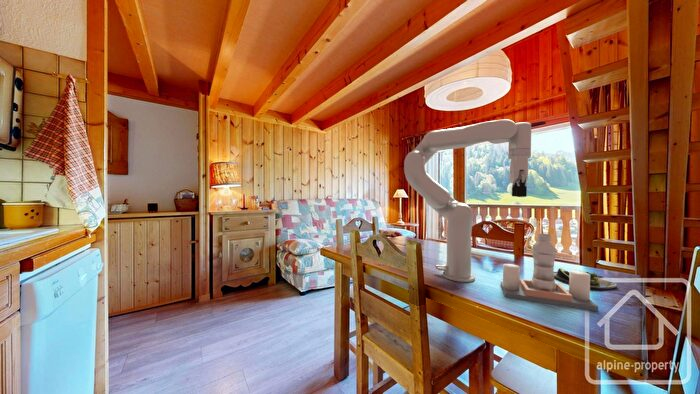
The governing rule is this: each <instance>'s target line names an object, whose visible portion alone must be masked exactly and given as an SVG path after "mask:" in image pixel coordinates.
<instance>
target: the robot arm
mask: <svg viewBox="0 0 700 394" xmlns="http://www.w3.org/2000/svg"><path fill="white" fill-rule="evenodd" d="M484 142H489V144H490V143H491V144H496V145H498V144H503V143H505V144H506V143H508V153H507V154H508V159H509V160H510V163H509V165H510V166H509V181H508V182H509V183H512V186H511V197H516V198H517V197H518V198H526V197H527V190H528V189H527V182H528V179H529V178H528V177H529V161H528V160H529V158H531V157H532V124H531V123H530V122H526V121H525V122H523V121H522V122H516V123H515V122H514V121H513V120H511V119H498V120H490V121H484V122H479V123H475V124H470V125H465V126H460V127H459V126H458V127H453V128H452V127H451V128H447V129H446V128H445V129H443V128H442V129H438V130H432V131H429V132H427V133H426V134H425V135H424V137H423V138H422V139H421V141H420V142H419V143H418V145H417V146H416V147H415V148H414V149H413V150H412V151H410V152H409V153H407V154H406V156H405V158H404V162H403V163H404V167H403V172H404V175H405V179H406V181H407V182H408V185H409V186H410V187H411V188H412V189H414V191H416V192H417V193H418V194H419V195H420V196H421V197H422V198H424V201H425V202H426V204H427V205H428V206H429V207H431V208H432V209H433V210H434V211H435V212H437V214H438V215H440V216H441V217H442V218H444V219H445V220H446V221H447V228H446V263H445V264H443V265H441V264H435V269H436V270H437V271H440V272H441V271H443V272H442V276H443V278H444V279H447V280H451V281H454V282H458V283H459V282H460V283H470V282H474V281H475V280H476V276H475V274H473V273H472V230H473V223H474V212H473V209H472V208H471V207H470V206H469V205H468V204H466V203H464V202H459V201H458V200H456V199H455V198H453V196H451V193H450V191H449V190H448V189H447V188H445V187H444V186H443V185H441V184H440V183H438V181H436V180H435V179H433V177H431V176H430V175H429V173H427V171H426V169H425V165H426V164H427V163H428V162H429V160H430V159H432V157H433V156H434V155H435V154H436V153H437V151H445V150H454V149H455V150H456V149H463V148H464V149H465V148H468V147H471V146H473V145H476V144H480V143H484Z"/></svg>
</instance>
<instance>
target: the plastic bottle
mask: <svg viewBox="0 0 700 394" xmlns="http://www.w3.org/2000/svg"><path fill="white" fill-rule="evenodd" d="M536 236H537V237H536V240H537V241H536V242H535V243H534V244H533V245H532V248H531V252H532V258H533V274H532V278H531V280H532V282H531V283H532V287H533V289H534V290H541V291H549V292H555V290H556V285H555V283H556V281H555V278H554V272H555V271H554V269H555V260H556V254H557V251H556V248H555V246H554V245H553V244H552V242H551V241H552V235H551V234H547V233H537V235H536Z"/></svg>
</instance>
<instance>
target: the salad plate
mask: <svg viewBox="0 0 700 394" xmlns="http://www.w3.org/2000/svg"><path fill="white" fill-rule="evenodd" d="M579 271H580V270H579ZM580 272H582V271H580ZM584 272H585V273H588V274H590V291H592V290H593V291H601V290H602V291H603V289H604V290H610V289H613V288H616V287H617V286H618V284H617V283H616V282H613V281H610V280H606V279H604V276H603V275H598V274H596V273H595V272H589V271H584ZM554 280H557V281H558V282H561V283H564V284H567V285H569V271H567V270H565V269H563V268H558V269H557V271H554ZM600 283H601V284H600ZM603 284H604V285H603ZM602 285H603V286H602ZM605 285H606V287H605Z"/></svg>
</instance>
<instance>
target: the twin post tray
mask: <svg viewBox="0 0 700 394" xmlns="http://www.w3.org/2000/svg"><path fill="white" fill-rule="evenodd" d="M502 265H503V266H502V280H501V281H500V288H501V289H502V292H503V296H504V297H505V298H509V299H514V300H521V301H529V302H536V303H541V304H548V305H555V306H561V307H562V306H563V307H568V308H573V309H580V310H587V311H593V312H599V305H597V304H596V303H595V302H593V300H591V298H590V297H591V290H590V274H588V273H585V272H586V271H581V272H580V270H579V271H578V270H569V271H568V272H569V284H568V289H566V288H565V287H564V286H563V285H562V284H560V283H556V282H555V285H556V290H555V292H549V291H541V290H534V289H533V287H532V283H531V282H532V279H531V280H530V279H522V278H521V277H520V273H521V272H520V269H521V268H520V266H519V265H517V264H512V263H503V264H502Z"/></svg>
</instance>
